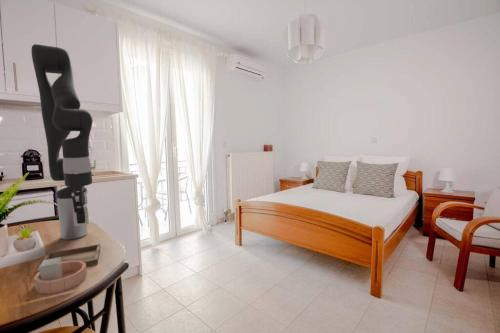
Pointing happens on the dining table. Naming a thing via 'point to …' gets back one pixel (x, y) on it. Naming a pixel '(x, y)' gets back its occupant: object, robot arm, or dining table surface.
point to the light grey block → (51, 269)
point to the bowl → (71, 277)
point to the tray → (76, 255)
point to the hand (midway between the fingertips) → (82, 220)
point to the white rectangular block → (87, 216)
